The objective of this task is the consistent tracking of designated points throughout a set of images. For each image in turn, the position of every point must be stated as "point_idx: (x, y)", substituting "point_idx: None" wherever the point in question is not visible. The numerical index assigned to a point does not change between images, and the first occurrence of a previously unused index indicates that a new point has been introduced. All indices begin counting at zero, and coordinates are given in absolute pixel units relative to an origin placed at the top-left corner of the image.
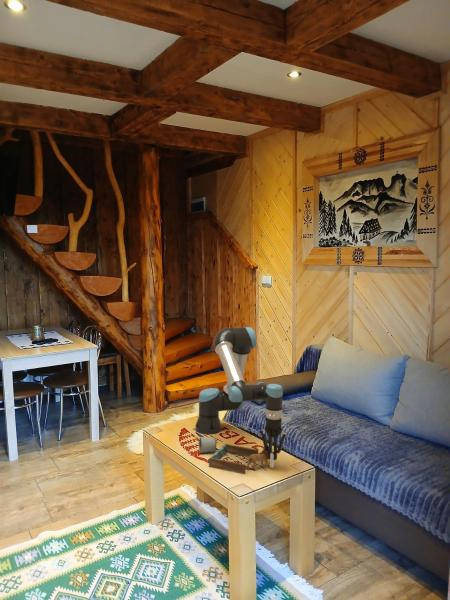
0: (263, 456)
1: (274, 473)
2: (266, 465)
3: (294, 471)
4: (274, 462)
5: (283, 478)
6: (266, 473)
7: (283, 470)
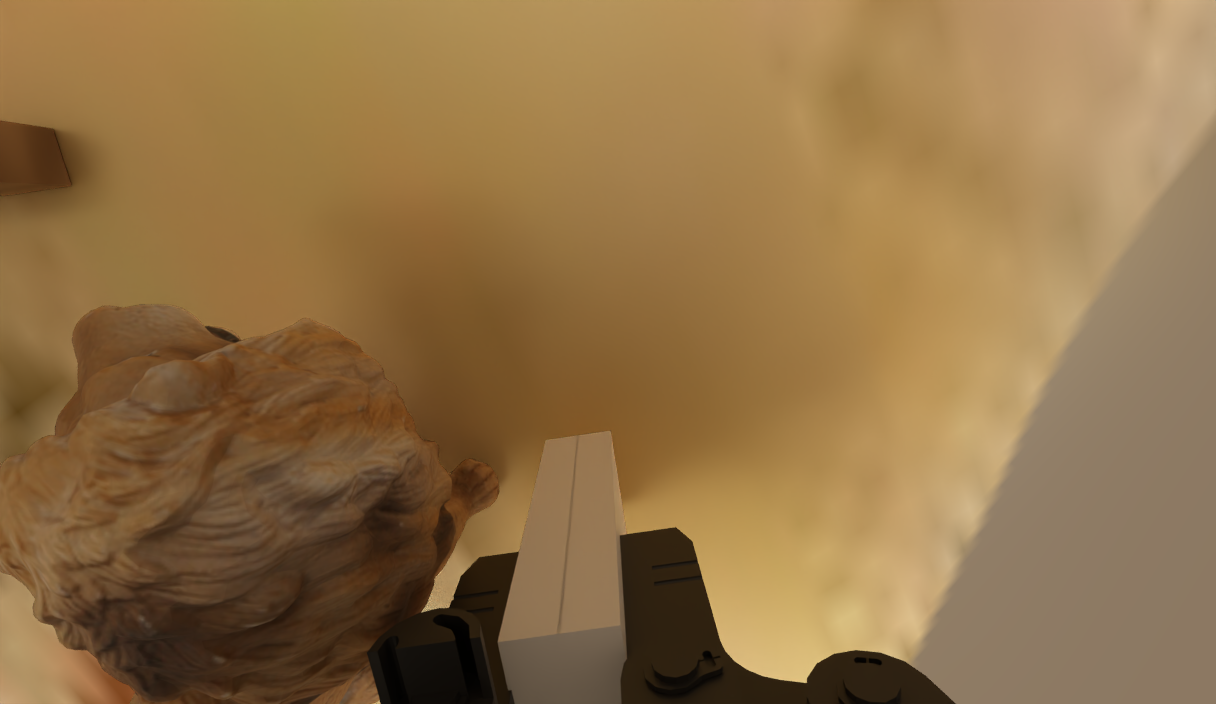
0: (331, 701)
1: None
2: (467, 519)
3: (1000, 328)
4: (615, 481)
5: None
6: None
7: (795, 405)
